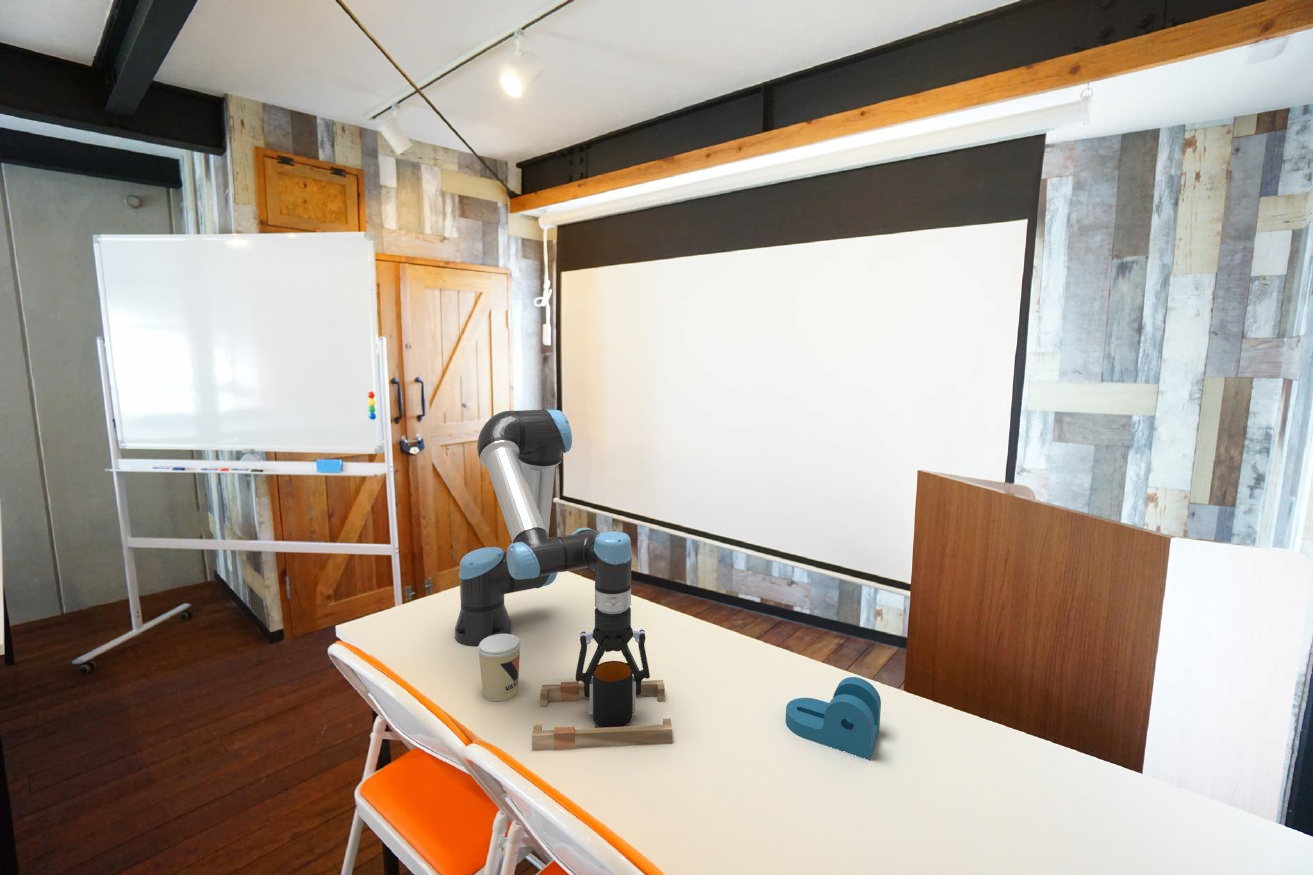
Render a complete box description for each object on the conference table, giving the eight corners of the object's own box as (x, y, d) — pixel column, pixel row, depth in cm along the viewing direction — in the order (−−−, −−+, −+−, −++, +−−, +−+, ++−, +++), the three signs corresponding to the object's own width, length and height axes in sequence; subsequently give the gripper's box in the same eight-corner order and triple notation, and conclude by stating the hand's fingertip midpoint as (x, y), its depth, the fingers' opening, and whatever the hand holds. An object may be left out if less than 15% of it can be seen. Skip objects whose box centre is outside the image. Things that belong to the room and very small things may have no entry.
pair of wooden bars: (542, 696, 129) (542, 682, 128) (662, 691, 131) (663, 677, 131) (532, 750, 111) (531, 734, 110) (672, 743, 113) (672, 727, 113)
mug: (646, 701, 125) (646, 657, 124) (621, 733, 114) (621, 685, 113) (612, 692, 128) (612, 649, 127) (585, 723, 118) (585, 676, 116)
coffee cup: (510, 706, 125) (509, 654, 124) (471, 700, 127) (469, 649, 126) (528, 683, 134) (527, 634, 133) (491, 678, 136) (490, 631, 135)
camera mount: (879, 731, 118) (882, 683, 117) (869, 761, 109) (873, 710, 108) (793, 705, 127) (795, 660, 126) (778, 730, 118) (780, 682, 117)
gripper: (560, 616, 114) (561, 722, 116) (665, 613, 116) (663, 717, 119) (563, 601, 121) (563, 700, 124) (661, 598, 123) (659, 696, 126)
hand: (612, 708), depth 121 cm, fingers closed on mug, 8 cm apart
